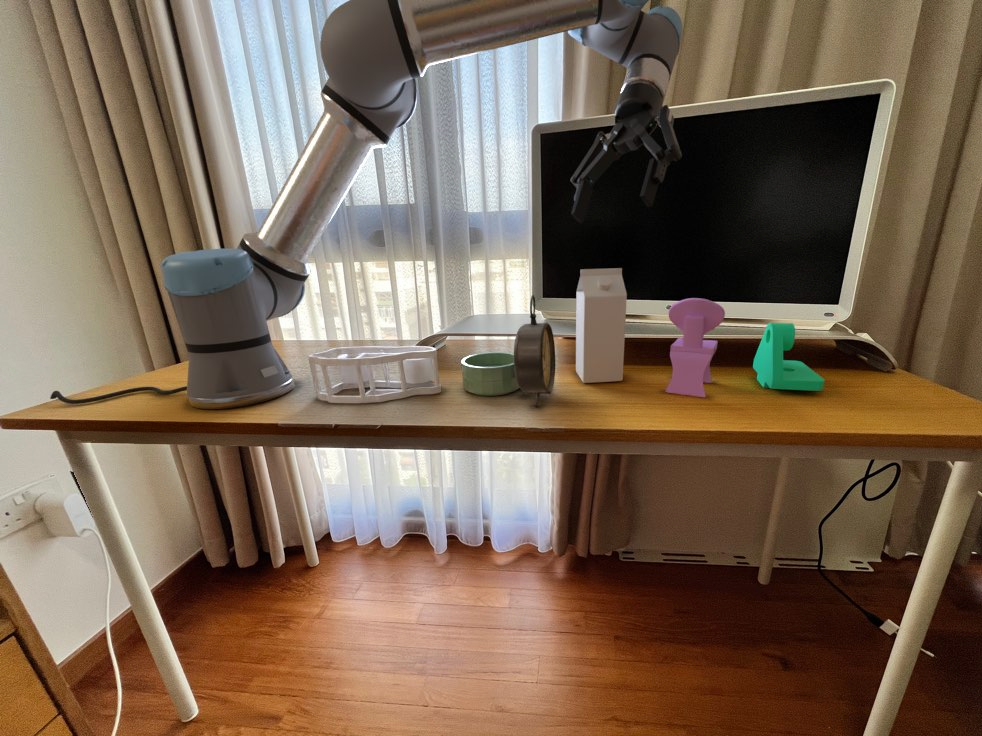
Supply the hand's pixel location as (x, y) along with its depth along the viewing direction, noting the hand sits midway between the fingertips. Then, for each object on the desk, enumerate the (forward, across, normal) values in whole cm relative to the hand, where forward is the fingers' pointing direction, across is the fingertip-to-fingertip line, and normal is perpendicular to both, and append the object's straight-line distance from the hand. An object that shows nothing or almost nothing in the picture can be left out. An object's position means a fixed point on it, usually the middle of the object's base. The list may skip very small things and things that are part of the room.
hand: (609, 210), depth 70 cm
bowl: (+32, +14, +1) cm, 35 cm away
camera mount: (+18, -23, -29) cm, 42 cm away
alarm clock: (+33, +5, -1) cm, 33 cm away
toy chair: (+23, -12, -19) cm, 32 cm away
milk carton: (+24, +3, -14) cm, 28 cm away
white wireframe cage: (+39, +26, +13) cm, 49 cm away
